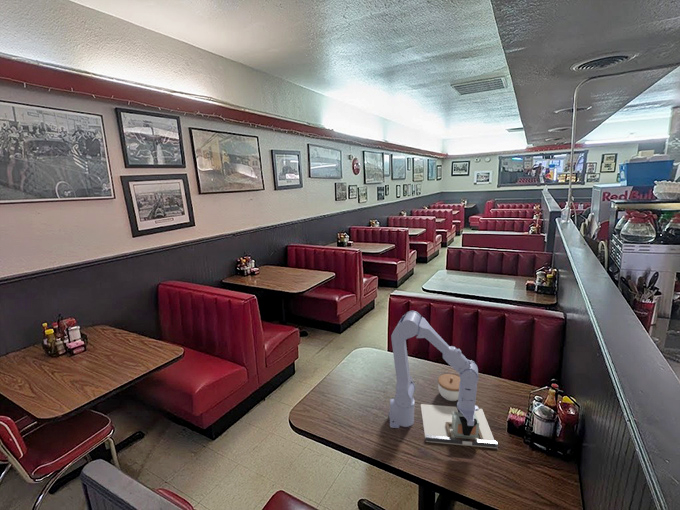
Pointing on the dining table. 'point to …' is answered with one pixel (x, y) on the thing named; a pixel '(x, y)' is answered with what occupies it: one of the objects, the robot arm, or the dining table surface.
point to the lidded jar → (449, 386)
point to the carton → (458, 426)
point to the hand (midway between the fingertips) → (464, 428)
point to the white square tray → (441, 430)
